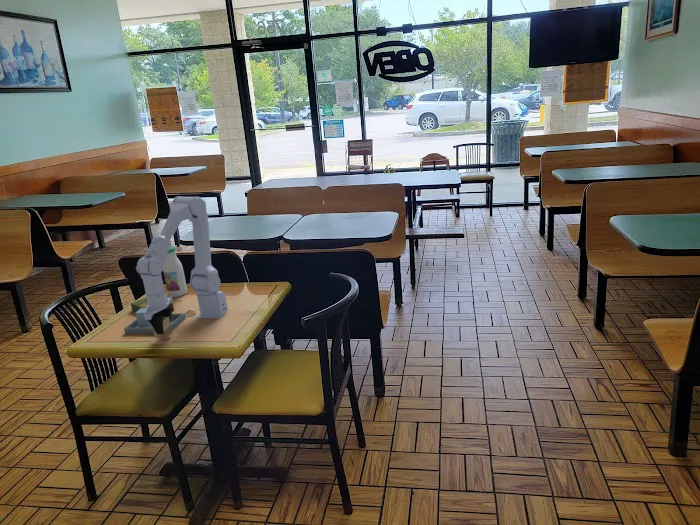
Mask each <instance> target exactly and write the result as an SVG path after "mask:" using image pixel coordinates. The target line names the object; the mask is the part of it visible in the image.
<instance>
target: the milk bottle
mask: <svg viewBox="0 0 700 525" xmlns="http://www.w3.org/2000/svg"><path fill="white" fill-rule="evenodd" d="M162 272H163V277H164V282H165V287H166V291H167V292H166V293H167V295H168V297H172V298H179V297H183V296H185V295H186V294H187V293H188V288H187V283H186V276H185V271H184V268H183V265H182V262H181V261H180V259H179V258H178V257H177V254H176V247H175V246H171V247H170V249H169V251H168V252H167V254H166V256H165V258H164V269H163V271H162ZM184 294H185V295H184ZM182 295H183V296H182Z"/></svg>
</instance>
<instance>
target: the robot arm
mask: <svg viewBox="0 0 700 525" xmlns="http://www.w3.org/2000/svg"><path fill="white" fill-rule="evenodd" d="M169 210H170V212H169V214H168V216H167V219H166V221H165V223H164V225H163V228H162V230H161V232H160V234H159V235H156V236H154V237H153V238H152V239H151V243H150V244H149V247H148V248H147V250H146V252H145V254H144V255H143V256H142V257H140V258H139V259H138V260H137V263H136V267H135V269H136V270H135V271H136V272H137V273H138V274H139V275H140V278H141V279H142V282H143V286H144V291H145V295H146V297H147V301H148V305H147V306H146V308H148V309H147V311H146V312H145V314H143V315H144V319H145V320H147V321H148V322H149V323H150V324H151V325H152V326H153V328H154V330H155V332H156V334H163V317H169V320H170V323H171V314H172V313H173V312H172V310H173V306H174V305H173V306H169V303H173V302H174V301H173V297H169V296H167V295H166V291H165V286H164V280H163V277H162V272H163V269H164V260H165V256H166V254H167V252H168V251H169V249H170V247H172V242H171V239H172V238H173V236H174V235H175V233H176V231H177V229H178V228H179V227H180V225H181V223H182V222H183V221H186V220H188V221H189V222H190V223H191V224H192V236H193V237H192V239H193V249H194V250H193V251H194V264H195V265H194V268H193V269H192V270H191V271H190V279H189V285H190V289H192V290H193V291H194V293H195V294H196V297H197V301H198V302H197V303H198V308H199V312H200V313H199V314H198V315H197V316H196V319H221V318H222V317H223V316H224V315H225V314H226V313H227V312H228V311H229V310H230V309H229V308H228V303H227V297H226V293H225V292H224V291H220V287H221V279H220V277H219V272H218V269H216V268H215V267H214V266H213V265H212V254H211V241H210V240H211V239H210V227H209V226H210V225H209V223H210V222H209V215H208V212H207V202H206V201H205V200H204V199H203V198H202V197H200V196H182V195H181V196H180V195H177V196H175V197H174V198H173V200H172V202H171V204H170V205H169Z"/></svg>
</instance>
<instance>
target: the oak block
mask: <svg viewBox="0 0 700 525" xmlns="http://www.w3.org/2000/svg"><path fill="white" fill-rule="evenodd" d="M152 327H153V326H152ZM153 331H154V334H153V336H154V338H155V339H166V338H167V337H169V336H170V335H171V334H173V331H172V329H171V324H170V320H169V317H163V334H156V332H155V330H154V328H153ZM155 339H154V340H155Z"/></svg>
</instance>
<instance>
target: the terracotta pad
mask: <svg viewBox="0 0 700 525" xmlns="http://www.w3.org/2000/svg"><path fill="white" fill-rule="evenodd" d="M179 336H180V333H172V334H171V335H170V336H169V337H167V338H166V339H154V340H152V342H150V345H171V343H173V341H175V340H176V339H177V338H178V337H179Z"/></svg>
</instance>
